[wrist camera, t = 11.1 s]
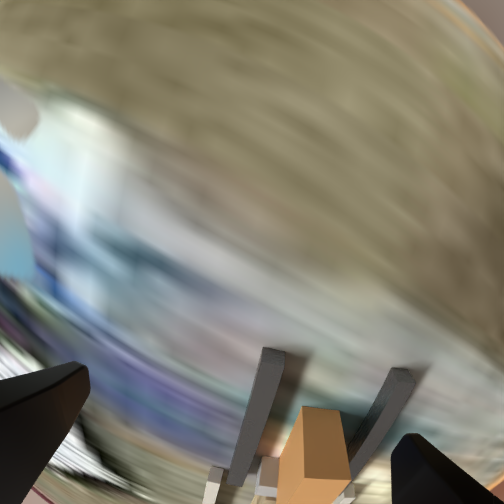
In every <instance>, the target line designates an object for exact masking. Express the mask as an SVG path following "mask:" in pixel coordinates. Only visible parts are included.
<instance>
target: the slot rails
mask: <svg viewBox="0 0 504 504" xmlns="http://www.w3.org/2000/svg"><path fill="white" fill-rule="evenodd" d="M284 366H285V352H284V351H278V350H273V349H269V348H264V347H263V349H262V352H261V356H260V360H259V364H258V368H257V372H256V376H255V379H254V383H253V387H252V391H251V394H250V398H249V402H248V405H247V409H246V413H245V416H244V420H243V423H242V427H241V430H240V434H239V437H238V441H237V444H236V448H235V451H234V455H233V458H232V462H231V465H230V468H229V472H228V477H227V481H226V484H230V485H234V486H240V487H242V486H243V483H244V481H245V478H246V476H247V473H248V470H249V468H250V465H251V463H252V460H253V457H254V455H255V452H256V449H257V446H258V444H259V441H260V438H261V435H262V433H263V430H264V427H265V424H266V421H267V418H268V415H269V413H270V410H271V407H272V404H273V401H274V398H275V395H276V392H277V388H278V385H279V382H280V379H281V376H282V373H283V370H284ZM415 384H416V383H415V381H414V379H413V377H412V376H411V374H410V372H409V371H408V370H407V369H397V368H391V369H390V371H389V374H388V376H387V378H386V380H385V382H384V384H383V386H382V388H381V390H380V392H379V394H378V396H377V398H376V400H375V402H374V403H373V405H372V407H371V409H370V411H369V413H368V414H367V416H366V418H365V420H364V422H363V423H362V425H361V427H360V429H359V430H358V432H357V434H356V435H355V437H354V439H353V440H352V442H351V443H350V445H349V447H348V448H347V456H348V462H349V468H350V474H351V481H350V483H351V482H352V481H353V479H354V478H355V477H356V476H357V474H358V473H359V472H360V470H361V469H362V468H363V466H364V465H365V464H366V462H367V461H368V460H369V458H370V457H371V455H372V454H373V453H374V451H375V450H376V448H377V447H378V445H379V444H380V442H381V441H382V439H383V438H384V436H385V435H386V433H387V432H388V430H389V429H390V427H391V426H392V424H393V422H394V421H395V419H396V417H397V416H398V414H399V412H400V411H401V409H402V407H403V406H404V404H405V402H406V400H407V399H408V397H409V395H410V393H411V391H412V389H413V388H414V386H415ZM350 483H349V484H350ZM349 484H348V485H347V486H346V487H345V489H346V488H347V487H348V486H349ZM345 489H344V490H345ZM344 490H343V491H342V492H341V494H342V493H343V492H344ZM341 494H340V495H341ZM340 495H339V496H340Z"/></svg>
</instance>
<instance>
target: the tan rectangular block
mask: <svg viewBox="0 0 504 504" xmlns="http://www.w3.org/2000/svg"><path fill="white" fill-rule="evenodd" d="M350 481H351V474H350V468H349V462H348V456H347V450H346V444H345V439H344V433H343V428H342V423H341V417H340V412H339V411H338V410H328V409H320V408H313V407H305V406H302V408H301V410H300V412H299V415H298V417H297V420H296V422H295V424H294V427H293V429H292V431H291V433H290V436H289V438H288V440H287V442H286V445H285V447H284V449H283V451H282V453H281V456H280V458H273V457H266V456H262V459H261V461H260V463H259V466H258V473H257V480H256V488H255V495H260V496H267V497H275V498H276V504H332V503H333V502H334V501H335V499H336V498H337V497H338V496H339V495H340V494H341V492H342V491H343V490H344V489H345V487H346V486H347V485H348V484H349V483H350Z"/></svg>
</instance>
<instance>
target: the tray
mask: <svg viewBox="0 0 504 504" xmlns="http://www.w3.org/2000/svg"><path fill="white" fill-rule="evenodd" d="M223 470H224V469H222V468H217V467H213V466H211V469H210V473H209V476H208V480H207V484H206V489H205V494H204V499H203V503H202V504H215V500H216V497H217V493H218V490H219V486H220V482H221V478H222V474H223ZM355 498H356V497H355V491H354V484H353V483H350V484H349V486H348V487H347V488H346V489H345V490H344V492H343V493H342V494H341V495H340V496H338V497H337V498H336V499H335V501H334V502H333V503H332V504H350V503H351V502H352V501H353V500H354V499H355Z"/></svg>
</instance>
